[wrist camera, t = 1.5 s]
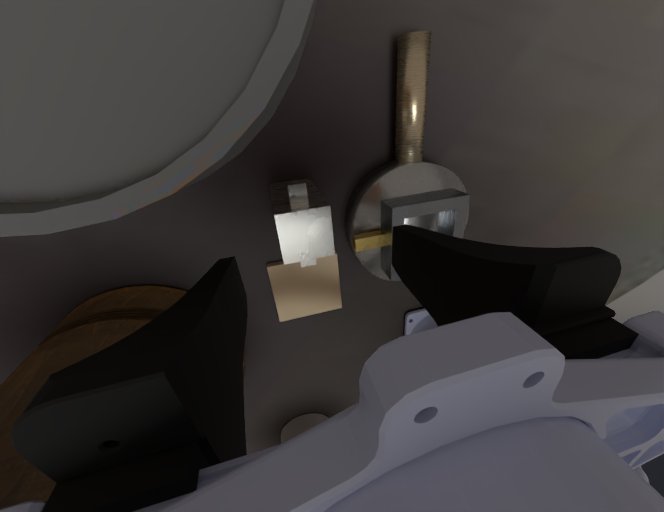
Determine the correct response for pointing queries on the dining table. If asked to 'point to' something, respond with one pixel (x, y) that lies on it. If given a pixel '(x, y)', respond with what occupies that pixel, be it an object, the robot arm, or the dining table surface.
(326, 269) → the coaster
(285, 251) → the grey block
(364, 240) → the open square box
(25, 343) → the dining table surface
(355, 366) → the dining table surface
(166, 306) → the wooden container
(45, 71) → the reusable coffee cup
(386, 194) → the grey frying pan
